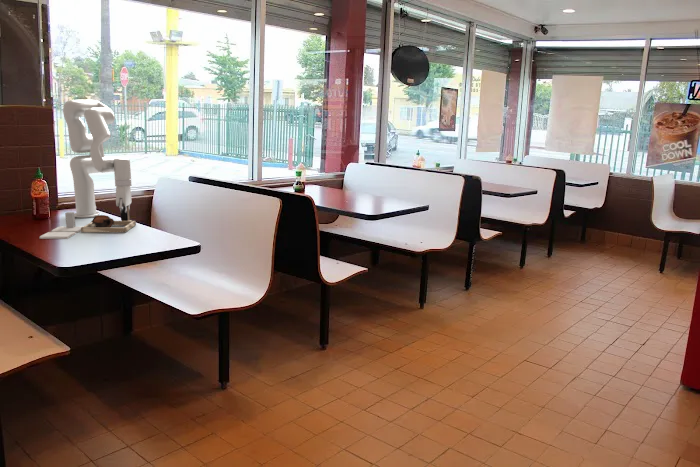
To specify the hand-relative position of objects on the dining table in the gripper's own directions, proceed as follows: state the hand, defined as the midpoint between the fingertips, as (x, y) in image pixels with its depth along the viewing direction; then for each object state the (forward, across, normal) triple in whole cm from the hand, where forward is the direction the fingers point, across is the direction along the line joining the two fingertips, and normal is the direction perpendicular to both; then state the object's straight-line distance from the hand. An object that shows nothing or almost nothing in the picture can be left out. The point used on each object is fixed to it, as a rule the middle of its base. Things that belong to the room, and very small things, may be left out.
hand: (125, 219), depth 297 cm
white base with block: (+2, +22, -22) cm, 31 cm away
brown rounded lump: (+3, +15, -6) cm, 16 cm away
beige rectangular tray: (+2, +9, -4) cm, 10 cm away
